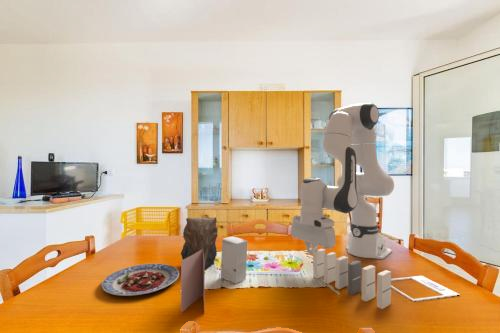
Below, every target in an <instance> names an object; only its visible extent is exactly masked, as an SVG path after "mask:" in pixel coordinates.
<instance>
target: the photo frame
mask: <svg viewBox="0 0 500 333" xmlns="http://www.w3.org/2000/svg"><path fill="white" fill-rule="evenodd" d="M405 280H412V281H414V282H416V283H418V284H420V285H422V286H424V287H426V288H428V289H429V290H431V291H433V292H435V293H438V294H439V295H435V296H427V297H417V298H412V297H411V296H410V295H407V294H406V293H405V292H403V291H401V290H399V289H398V288H396V287H394V286H393V285H392V284H391V290H394V291H396V292H397V293H399V294H400V295H402V296H403V297H404V298H406V297H407V299H408V300H410V301H411V300H412V301H411V302H413V303H415V302H414V301H416V302H423V300H424V301H431V299H432V300H438V299H437V298H440V299H445V298H444V297H447V298H452V297H451V296H455V297H458V296H457V295H460V293H458V292H456V291H454V290H452V289H450V288H448V287H446V286H444V285H442V284H440V283H438V282H435V281H433V280H431V279H429V278H427V277H425V276H424V275H414V276H413V275H412V276H407V277H405V276H404V277H397V278H391V282H397V281H405Z"/></svg>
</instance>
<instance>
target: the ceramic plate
mask: <svg viewBox="0 0 500 333" xmlns="http://www.w3.org/2000/svg"><path fill="white" fill-rule="evenodd" d="M179 277H180V271H179V269H178V268H177V267H175V266H173V265H171V264H164V263H143V264H136V265H132V266H127V267H125V268H122V269H119V270H116V271H114V272H112V273H111V274H110V275H108V276H106V277H105V278H104V279H103V280H102V283H101V288H102V290H103V291H104V292H106V293H107V294H110V295H114V296H122V297H123V296H125V297H126V296H128V297H129V296H130V297H132V296H141V295H146V294H151V293H154V292H157V291H160V290H162V289H165V288H167V287H169V286H170V285H173V284H174V283H175V282H176V281H177V280H178V279H179Z"/></svg>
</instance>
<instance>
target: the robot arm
mask: <svg viewBox="0 0 500 333" xmlns="http://www.w3.org/2000/svg"><path fill="white" fill-rule="evenodd" d="M379 118H380V113H379V108H378V107H377V105H376V104H374V103H373V102H364V103H356V104H350V105H347V106H343V107H337V108H335V109H334V110H331V112H330V114H329V117H328V123H327V124H326V128H325V131H324V137H323V142H322V148H323V151H324V152H325V154H327V155H328V156H329V157H331V158H333V159H335V160H337V161H339V163H340V164H341V174H340V175H339V176H338V178H337V180H336V185H329V184H327V183H324V181H322V178H321V177H308V178H305V179H303V180H302V182H301V185H300V192H299V194H300V197H299V199H300V204H301V205H300V210H299V211H300V212H299V214H300V215H299V214H298V215H297V214H296V215H294V216H293V217H292V222H291V228H290V234H291V235H290V236H291V237H292V238H294V239H297V240H301V241H304V245H305V247H306V249H307V250H306V252H307V254H311V255H313V251H315V250H318V247H322V248H323V249H327V250H328V249H333V248H334V247H335V246H336V231H335V229H334V226H335V221H334V220H333V219H331V218H330V217H328V216H326V215H325V214H324V210H323V209H326V210H332V211H337V212H339V213H343V214H349V213H351V214H350V216H351V222H350V227H349V228H350V229H349V230H350V232H349V233H348V240H347V246H345V249H346V250H347V253H348V254H350V255H352V256H355V257H359V258H364V259H377V260H382V259H383V260H384V259H385V258H386V257H388V255H390V254H391V253H392V252H393V250H392V249H391V248H389V247H387V240H386V238H384V237H383V235H382V234H380V232H379V230H382V229H381V228H382V225H381V224H377V209H376V207H375V206H374V205H373V204H371V203H370V202H368V201H367V200H366V198H365V196H367V197H387V196H390V195H391V194H392V192H394V188H395V182H394V179H393V177H391V175H390V174H388V173H387V172H385V171H384V169H383V168H382V167H381V165H380V163H379V162H378V161H379V160H378V157H377V143H376V142H377V140H376V138H377V137H376V132H375V126H376V125H377V123H378V121H379ZM357 166H359V167H360V168H361V169H362V171H363V172H357Z"/></svg>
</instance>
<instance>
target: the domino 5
mask: <svg viewBox="0 0 500 333" xmlns="http://www.w3.org/2000/svg"><path fill="white" fill-rule="evenodd" d="M375 298H376V266H375V265H373V264H370V265H367V266H365V267H361V300H362V301H364V302H366V303H367V302H369V301H371V300H372V299H375Z"/></svg>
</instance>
